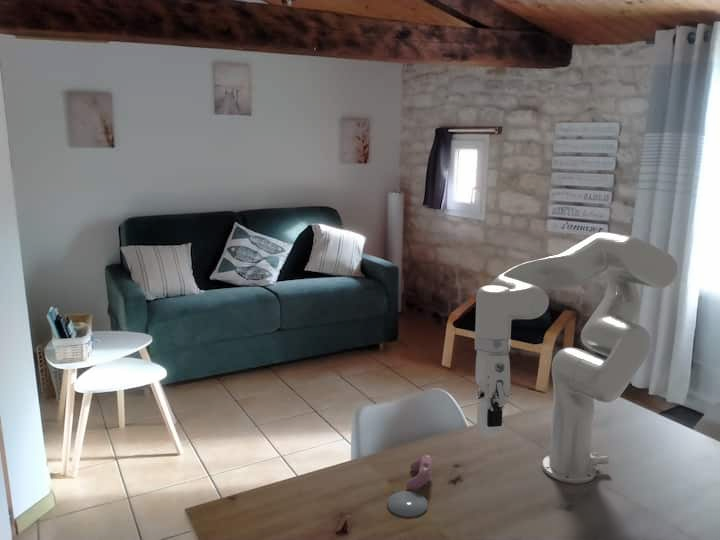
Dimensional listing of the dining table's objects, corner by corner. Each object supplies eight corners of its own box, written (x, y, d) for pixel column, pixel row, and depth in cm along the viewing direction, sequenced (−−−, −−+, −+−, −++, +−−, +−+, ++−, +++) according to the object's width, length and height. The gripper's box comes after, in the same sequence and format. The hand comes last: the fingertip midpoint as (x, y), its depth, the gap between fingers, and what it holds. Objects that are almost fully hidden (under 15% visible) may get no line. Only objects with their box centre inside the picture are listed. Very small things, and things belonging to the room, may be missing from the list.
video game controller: (421, 498, 142) (435, 475, 140) (404, 488, 143) (418, 465, 141) (425, 475, 152) (438, 454, 150) (409, 466, 152) (422, 445, 150)
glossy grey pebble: (422, 492, 142) (422, 489, 142) (431, 515, 133) (431, 512, 133) (384, 495, 141) (384, 492, 141) (391, 518, 132) (391, 516, 132)
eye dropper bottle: (492, 426, 139) (494, 377, 137) (503, 438, 134) (505, 387, 131) (474, 428, 138) (476, 379, 136) (485, 440, 133) (487, 389, 130)
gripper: (524, 355, 124) (520, 436, 128) (495, 329, 140) (492, 402, 144) (489, 357, 123) (486, 439, 127) (463, 331, 139) (461, 404, 143)
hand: (489, 418), depth 135 cm, fingers closed on eye dropper bottle, 5 cm apart
